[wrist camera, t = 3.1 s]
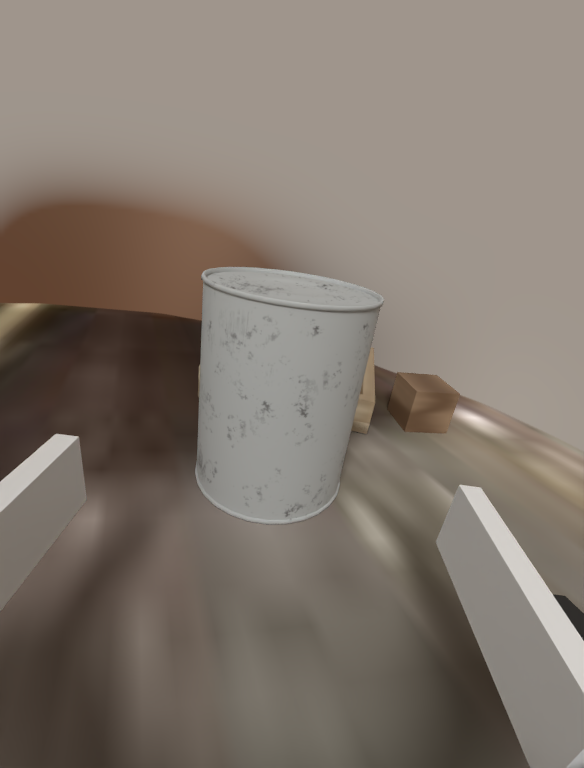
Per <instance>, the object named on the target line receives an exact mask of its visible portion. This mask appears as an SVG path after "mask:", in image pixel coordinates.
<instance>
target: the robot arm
mask: <svg viewBox="0 0 584 768" xmlns="http://www.w3.org/2000/svg"><path fill="white" fill-rule="evenodd" d="M86 500H87V497H86V489H85V481H84V473H83V465H82V457H81V449H80V441H79V437H77V436H69V435H61V434H55V435H54V436H53V437H52V438H50V439H49V440H48V441H47V442H46V443H45V444H44V445H42V446H41V447H40V448H39V449H38V450H37V451H35V452H34V453H33V454H32V455H31V456H30V457H28V458H27V459H26V460H25V461H24V462H23V463H21V464H20V465H19V466H18V467H17V468H16V469H15V470H13V471H12V472H11V473H10V474H9V475H8V476H6V477H5V478H4V479H3V480H2V481H1V482H0V612H1V610H2V609H3V608H4V607H5V605H6V604H7V603H8V601H9V600H10V599H11V597H12V596H13V595H14V594H15V592H16V591H17V590H18V588H19V587H20V586H21V585H22V583H23V582H24V581H25V579H26V578H27V577H28V575H29V574H30V573H31V572H32V570H33V569H34V568H35V566H36V565H37V564H38V563H39V561H40V560H41V559H42V557H43V556H44V555H45V553H46V552H47V551H48V550H49V548H50V547H51V546H52V544H53V543H54V542H55V541H56V539H57V538H58V537H59V535H60V534H61V533H62V531H63V530H64V529H65V528H66V526H67V525H68V524H69V522H70V521H71V520H72V519H73V517H74V516H75V515H76V513H77V512H78V511H79V509H80V508H81V507H82V506H83V504H84V503H85V502H86ZM436 544H437V546H438V549H439V551H440V553H441V556H442V558H443V561H444V563H445V565H446V568H447V570H448V573H449V575H450V577H451V580H452V582H453V585H454V587H455V589H456V592H457V594H458V597H459V599H460V601H461V604H462V606H463V609H464V611H465V613H466V616H467V618H468V620H469V623H470V625H471V628H472V630H473V632H474V635H475V637H476V640H477V642H478V644H479V647H480V649H481V652H482V654H483V656H484V659H485V661H486V664H487V666H488V668H489V671H490V673H491V676H492V678H493V680H494V683H495V685H496V687H497V690H498V692H499V695H500V697H501V699H502V702H503V704H504V707H505V709H506V711H507V714H508V716H509V719H510V721H511V723H512V726H513V728H514V731H515V733H516V735H517V738H518V740H519V743H520V745H521V747H522V750H523V752H524V755H525V757H526V759H527V762H528V764H529V766H530V768H584V613H582V612H581V611H580V610H579V609H578V608H577V607H576V606H575V605H574V604H573V603H572V602H571V601H570V600H569V599H568V598H567V597H565V596H561V595H553V594H552V593H551V592H550V590H549V589H548V587H547V586H546V584H545V583H544V581H543V580H542V578H541V577H540V575H539V574H538V572H537V571H536V569H535V568H534V566H533V565H532V563H531V562H530V560H529V559H528V557H527V556H526V554H525V553H524V551H523V550H522V548H521V547H520V545H519V544H518V542H517V541H516V539H515V538H514V536H513V535H512V533H511V532H510V531H509V529H508V528H507V526H506V525H505V523H504V522H503V520H502V519H501V517H500V516H499V514H498V513H497V511H496V510H495V508H494V507H493V505H492V504H491V502H490V501H489V499H488V498H487V496H486V495H485V493H484V492H483V490H482V489H481V488H480V487H472V486H464V485H459V487H458V489H457V491H456V494H455V496H454V499H453V501H452V504H451V506H450V509H449V511H448V514H447V516H446V518H445V521H444V523H443V526H442V528H441V531H440V533H439V536H438V538H437V541H436Z"/></svg>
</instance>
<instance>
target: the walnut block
mask: <svg viewBox="0 0 584 768" xmlns="http://www.w3.org/2000/svg"><path fill="white" fill-rule="evenodd" d="M459 396H460V394H459V393H458V392H457V391H456V390H454V389H453V388H452V387H451V386H450V385H448V384H447V383H446V382H444V381H443V380H442V379H441V378H440V377H438V376H437V375H428V374H414V373H401V372H397V376H396V379H395V383H394V387H393V390H392V394H391V398H390V401H389V405H388V408H387V410H388V411H389V412H390V413H391V415H392V416H393V417H394V419H395V420H396V421H397V422H398V424H399V425H400V426H401V428H402V429H403V430H404V432H425V433H446V432H447V429H448V426H449V424H450V421H451V418H452V415H453V413H454V410H455V407H456V404H457V401H458V399H459Z"/></svg>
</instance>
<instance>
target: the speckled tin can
mask: <svg viewBox="0 0 584 768" xmlns="http://www.w3.org/2000/svg"><path fill="white" fill-rule="evenodd" d="M201 277H202V280H203V304H202V305H203V306H202V333H201V362H200V391H199V420H198V448H197V462H196V469H195V475H196V480H197V484H198V486H199V488H200V489H201V491H202V493H203V494H204V496H205V497H206V498H207V499H208V500H209V501H210V502H211V503H212V504H213V505H214V506H215V507H217V508H219V509H221V510H222V511H224V512H226V513H227V514H229V515H231V516H234V517H237V518H240V519H242V520H245V521H249V522H255V523H261V524H289V523H295V522H300V521H304V520H306V519H309V518H311V517H313V516H316V515H318V514H319V513H321V512H322V511H323V510H325V509H326V508H327V507H329V506H330V504H331V503H332V502H333V500H334V499H335V497H336V496H337V493H338V489H339V486H340V475H341V471H342V467H343V463H344V459H345V454H346V450H347V446H348V442H349V438H350V433H351V429H352V425H353V421H354V416H355V412H356V408H357V404H358V400H359V395H360V391H361V387H362V383H363V379H364V374H365V370H366V366H367V362H368V358H369V353H370V349H371V345H372V341H373V336H374V332H375V328H376V323H377V320H378V315H379V311H380V307H381V306H382V305H383V302H384V298H383V297H382V296H381V295H380V294H378V293H376V292H374V291H372V290H370V289H367V288H365V287H361V286H358V285H355V284H352V283H348V282H344V281H340V280H336V279H331V278H327V277H322V276H315V275H311V274H305V273H298V272H292V271H284V270H276V269H265V268H250V267H222V268H221V267H220V268H213V269H208V270H206V271H204V272H203V274H202V276H201Z"/></svg>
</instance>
